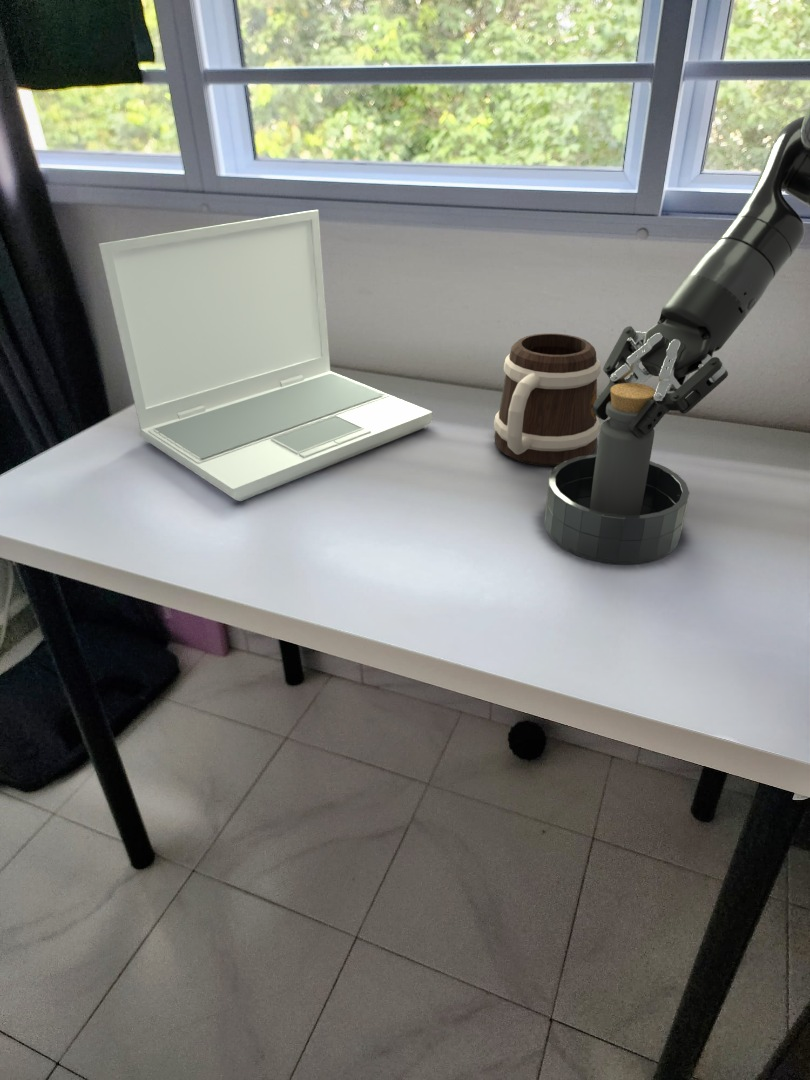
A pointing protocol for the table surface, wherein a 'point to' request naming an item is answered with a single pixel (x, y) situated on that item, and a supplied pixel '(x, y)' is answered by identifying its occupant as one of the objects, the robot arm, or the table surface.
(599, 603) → the table surface
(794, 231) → the robot arm
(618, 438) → the bottle
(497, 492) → the table surface
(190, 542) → the table surface
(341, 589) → the table surface
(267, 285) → the laptop
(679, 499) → the pot
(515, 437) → the mug
